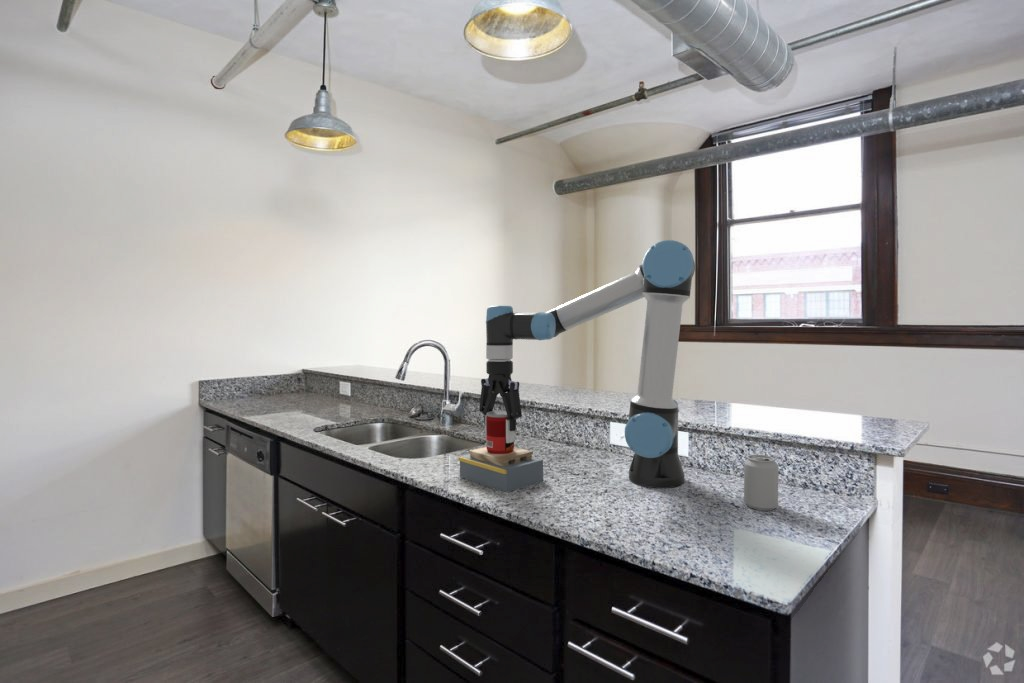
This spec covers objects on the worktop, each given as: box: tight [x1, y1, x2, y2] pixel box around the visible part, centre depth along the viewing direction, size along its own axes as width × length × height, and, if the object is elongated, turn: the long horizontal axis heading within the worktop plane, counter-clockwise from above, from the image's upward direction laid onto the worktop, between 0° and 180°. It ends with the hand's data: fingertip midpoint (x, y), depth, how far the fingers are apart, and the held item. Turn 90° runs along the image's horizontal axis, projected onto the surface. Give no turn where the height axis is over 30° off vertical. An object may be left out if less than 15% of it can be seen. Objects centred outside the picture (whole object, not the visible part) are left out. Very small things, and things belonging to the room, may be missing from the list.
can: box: [743, 454, 779, 512], centre depth 128 cm, size 8×8×12 cm
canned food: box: [486, 410, 515, 454], centre depth 152 cm, size 8×8×11 cm
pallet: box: [468, 446, 534, 466], centre depth 152 cm, size 14×12×2 cm
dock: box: [457, 453, 544, 493], centre depth 152 cm, size 20×15×6 cm
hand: (499, 439), depth 152 cm, fingers open, 8 cm apart
